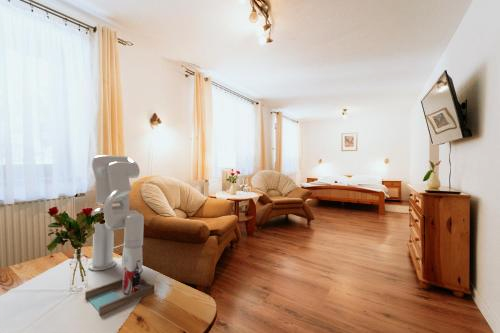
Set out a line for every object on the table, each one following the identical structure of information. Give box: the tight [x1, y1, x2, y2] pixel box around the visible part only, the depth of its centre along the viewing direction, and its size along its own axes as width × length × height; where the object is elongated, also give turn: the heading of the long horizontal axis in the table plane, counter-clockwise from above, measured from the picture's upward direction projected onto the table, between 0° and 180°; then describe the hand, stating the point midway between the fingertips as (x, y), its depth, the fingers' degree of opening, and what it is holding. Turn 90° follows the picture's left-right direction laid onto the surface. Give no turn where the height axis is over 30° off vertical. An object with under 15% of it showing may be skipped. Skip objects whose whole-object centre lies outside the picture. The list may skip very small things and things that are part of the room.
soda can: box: [122, 267, 142, 295], centre depth 101 cm, size 7×7×12 cm
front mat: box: [87, 290, 121, 313], centre depth 93 cm, size 13×9×1 cm
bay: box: [84, 276, 155, 317], centre depth 97 cm, size 16×21×3 cm
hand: (131, 282), depth 101 cm, fingers closed on soda can, 6 cm apart
